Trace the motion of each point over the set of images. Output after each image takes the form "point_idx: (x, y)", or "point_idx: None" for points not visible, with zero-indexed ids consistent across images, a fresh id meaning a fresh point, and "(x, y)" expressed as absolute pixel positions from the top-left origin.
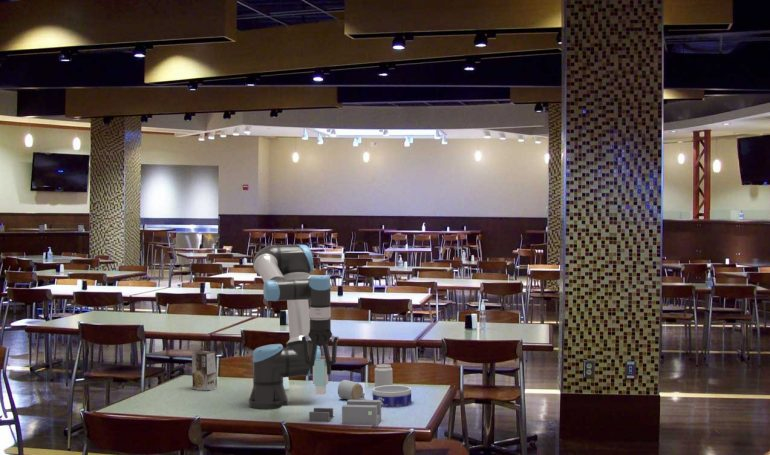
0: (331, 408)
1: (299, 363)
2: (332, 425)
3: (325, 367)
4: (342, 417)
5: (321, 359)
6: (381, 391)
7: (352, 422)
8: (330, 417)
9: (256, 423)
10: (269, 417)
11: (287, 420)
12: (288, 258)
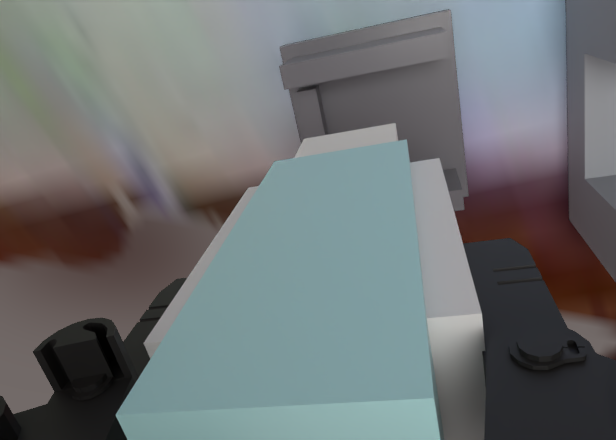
0: (436, 51)
1: None
2: (491, 202)
3: (464, 436)
4: (593, 247)
5: (275, 432)
6: None
7: None
8: (431, 70)
9: (47, 254)
10: (9, 105)
11: (154, 150)
12: None
